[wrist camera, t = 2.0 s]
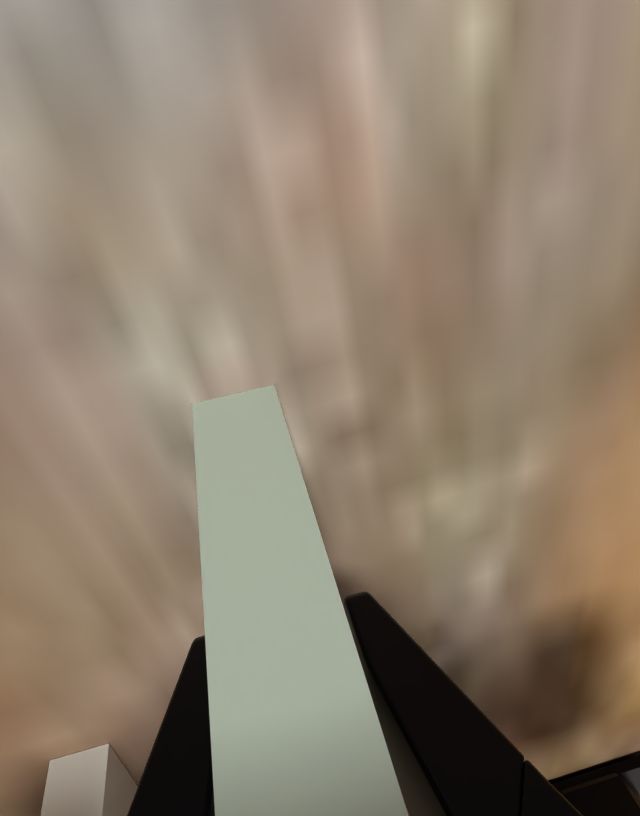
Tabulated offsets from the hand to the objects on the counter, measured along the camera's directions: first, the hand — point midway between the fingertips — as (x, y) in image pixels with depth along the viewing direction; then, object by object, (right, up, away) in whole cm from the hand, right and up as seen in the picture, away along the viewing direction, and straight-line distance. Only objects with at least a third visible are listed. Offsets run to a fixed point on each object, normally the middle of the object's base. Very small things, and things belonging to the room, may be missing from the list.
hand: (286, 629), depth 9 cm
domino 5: (-1, +2, +3) cm, 4 cm away
